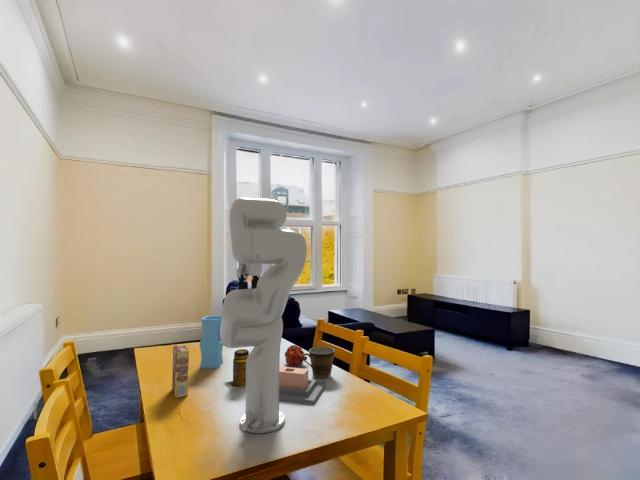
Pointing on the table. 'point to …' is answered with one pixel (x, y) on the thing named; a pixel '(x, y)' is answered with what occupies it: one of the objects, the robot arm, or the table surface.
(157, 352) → the table surface
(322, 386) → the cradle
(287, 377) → the pink block with hole
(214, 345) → the vase
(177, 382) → the candy box
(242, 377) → the condiment
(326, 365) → the ceramic cup
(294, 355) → the dragon fruit
